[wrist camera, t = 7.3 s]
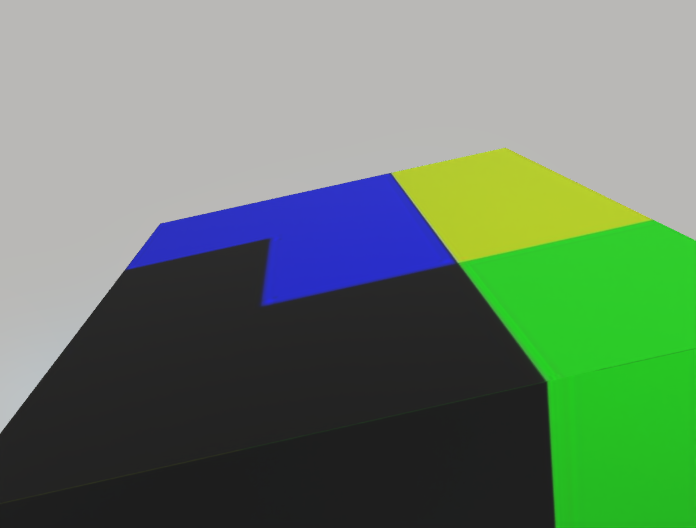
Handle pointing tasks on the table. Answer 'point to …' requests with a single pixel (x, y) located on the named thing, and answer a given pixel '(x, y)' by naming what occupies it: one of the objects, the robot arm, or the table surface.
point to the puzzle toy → (379, 366)
